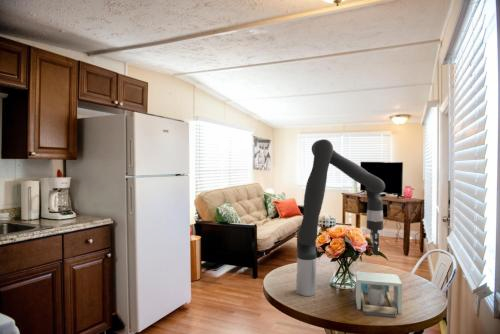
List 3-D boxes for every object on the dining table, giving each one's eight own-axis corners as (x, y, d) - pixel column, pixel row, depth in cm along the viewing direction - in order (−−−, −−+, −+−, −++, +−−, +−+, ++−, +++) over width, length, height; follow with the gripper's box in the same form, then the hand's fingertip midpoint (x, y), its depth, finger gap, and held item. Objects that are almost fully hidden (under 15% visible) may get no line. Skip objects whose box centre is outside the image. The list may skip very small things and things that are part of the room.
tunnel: (357, 308, 148) (357, 280, 148) (355, 298, 160) (355, 271, 160) (401, 313, 144) (402, 283, 144) (396, 302, 155) (397, 274, 155)
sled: (363, 311, 146) (363, 290, 146) (359, 291, 169) (359, 272, 169) (396, 315, 142) (396, 293, 142) (388, 293, 165) (388, 275, 165)
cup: (392, 310, 147) (392, 292, 147) (374, 311, 146) (374, 292, 146) (380, 300, 157) (380, 283, 157) (363, 300, 157) (364, 283, 157)
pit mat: (365, 314, 143) (365, 313, 143) (364, 312, 145) (364, 311, 145) (396, 318, 140) (396, 317, 140) (395, 315, 142) (395, 314, 142)
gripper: (365, 216, 173) (365, 248, 174) (367, 221, 160) (367, 255, 160) (381, 217, 171) (380, 249, 172) (385, 222, 158) (384, 257, 158)
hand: (374, 252), depth 166 cm, fingers open, 8 cm apart
